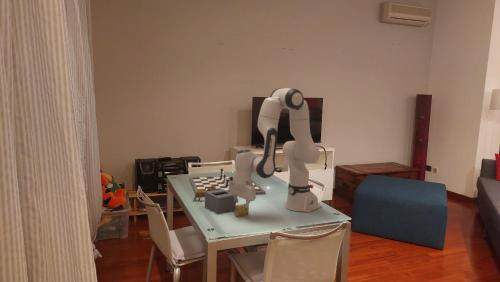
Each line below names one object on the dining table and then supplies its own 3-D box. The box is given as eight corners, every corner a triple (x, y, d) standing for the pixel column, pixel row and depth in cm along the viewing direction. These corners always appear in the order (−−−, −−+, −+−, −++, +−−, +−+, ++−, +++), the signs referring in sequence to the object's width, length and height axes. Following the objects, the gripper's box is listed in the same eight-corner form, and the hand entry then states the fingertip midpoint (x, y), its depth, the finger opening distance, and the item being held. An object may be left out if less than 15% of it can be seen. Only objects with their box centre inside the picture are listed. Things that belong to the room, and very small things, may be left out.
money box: (222, 203, 217) (222, 188, 215) (235, 210, 206) (236, 194, 204) (204, 206, 210) (205, 191, 208) (217, 214, 198) (217, 198, 197)
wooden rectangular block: (245, 214, 200) (246, 203, 200) (248, 215, 198) (248, 204, 198) (235, 216, 196) (235, 205, 195) (237, 217, 194) (238, 206, 193)
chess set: (189, 180, 270) (189, 165, 268) (247, 178, 282) (248, 164, 280) (196, 198, 227) (197, 180, 225) (265, 195, 239) (266, 178, 237)
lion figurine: (214, 198, 226) (214, 184, 225) (217, 200, 222) (217, 186, 220) (191, 200, 220) (191, 186, 219) (194, 203, 215) (194, 188, 214)
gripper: (259, 183, 188) (257, 209, 190) (236, 175, 204) (235, 199, 206) (249, 184, 184) (248, 211, 186) (227, 176, 200) (226, 200, 202)
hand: (241, 204), depth 196 cm, fingers open, 8 cm apart
